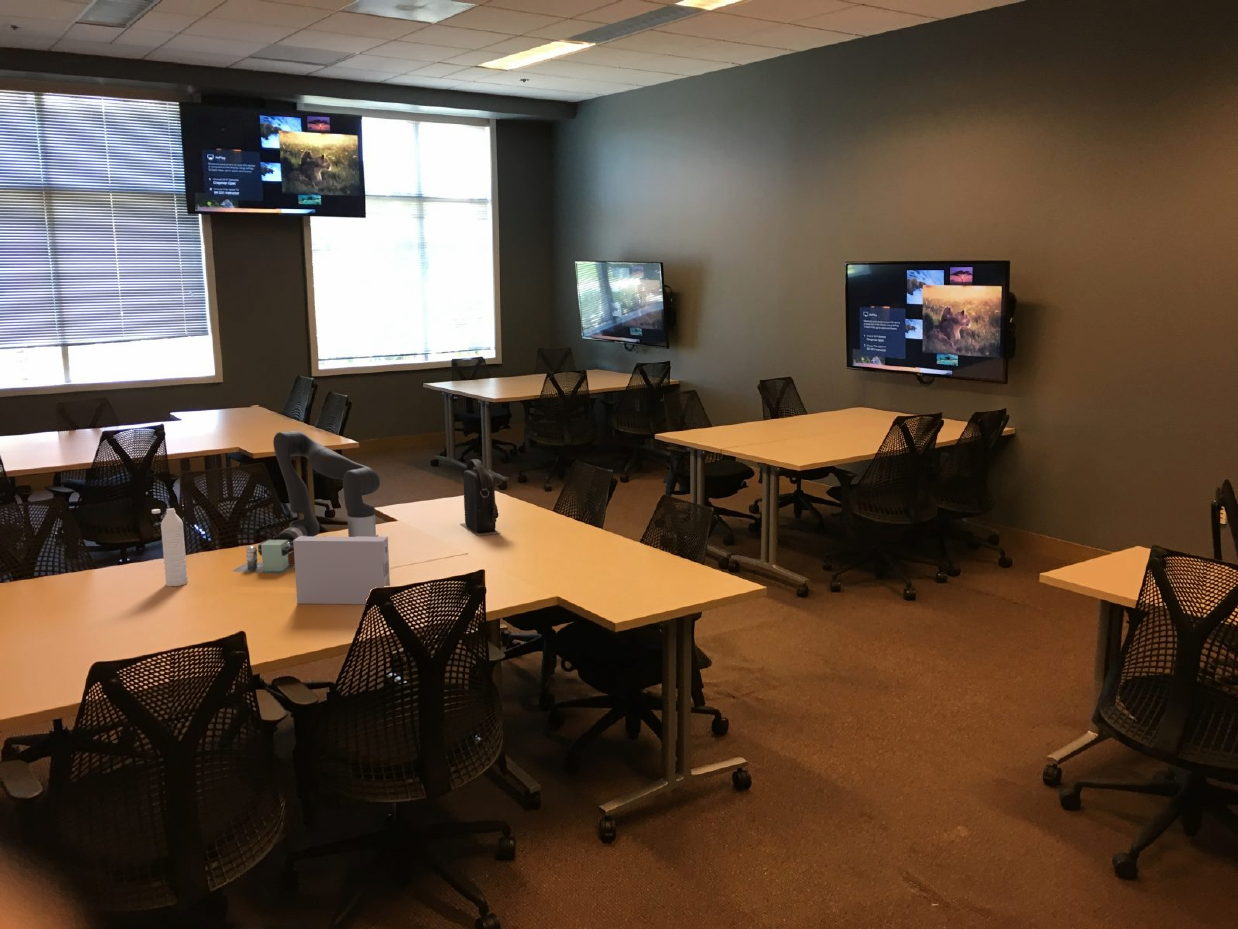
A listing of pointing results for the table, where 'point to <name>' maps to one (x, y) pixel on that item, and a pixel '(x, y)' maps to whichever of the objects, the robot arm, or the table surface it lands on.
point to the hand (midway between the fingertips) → (272, 552)
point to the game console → (339, 568)
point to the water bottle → (173, 548)
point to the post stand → (256, 563)
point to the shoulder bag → (479, 499)
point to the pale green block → (274, 555)
